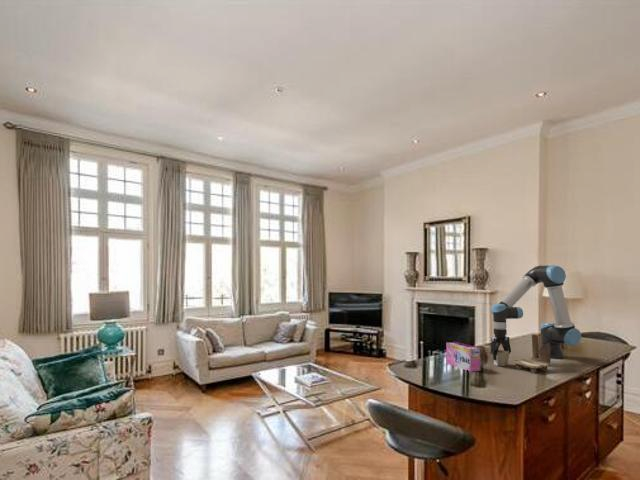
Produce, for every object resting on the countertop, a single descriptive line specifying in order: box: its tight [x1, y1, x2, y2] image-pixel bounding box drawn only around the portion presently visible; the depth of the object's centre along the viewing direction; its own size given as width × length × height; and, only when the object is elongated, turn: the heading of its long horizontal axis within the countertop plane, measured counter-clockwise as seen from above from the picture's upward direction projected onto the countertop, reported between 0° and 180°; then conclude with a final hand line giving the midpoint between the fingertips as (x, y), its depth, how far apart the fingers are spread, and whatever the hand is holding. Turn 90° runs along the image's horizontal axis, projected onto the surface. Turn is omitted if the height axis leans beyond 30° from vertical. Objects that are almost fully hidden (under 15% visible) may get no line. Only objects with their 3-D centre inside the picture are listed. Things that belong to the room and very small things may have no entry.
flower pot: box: [497, 349, 509, 367], centre depth 248 cm, size 9×9×9 cm
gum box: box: [445, 341, 482, 373], centre depth 245 cm, size 24×8×14 cm, turn 21°
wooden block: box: [530, 334, 552, 365], centre depth 250 cm, size 4×11×18 cm, turn 26°
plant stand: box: [511, 358, 552, 374], centre depth 236 cm, size 15×15×4 cm
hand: (501, 364), depth 248 cm, fingers closed on flower pot, 8 cm apart
